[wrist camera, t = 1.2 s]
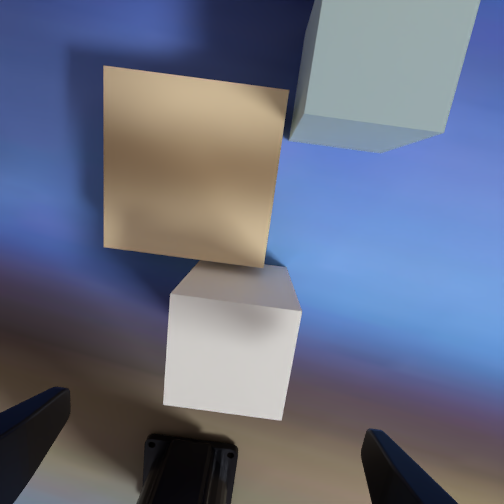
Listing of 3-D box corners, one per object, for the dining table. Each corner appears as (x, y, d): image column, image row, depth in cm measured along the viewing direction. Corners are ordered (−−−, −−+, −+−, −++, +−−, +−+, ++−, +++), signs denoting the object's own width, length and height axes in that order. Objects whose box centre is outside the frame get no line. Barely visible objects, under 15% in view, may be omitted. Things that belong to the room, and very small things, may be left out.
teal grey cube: (380, 153, 14) (443, 132, 9) (288, 141, 14) (304, 113, 9) (404, 48, 13) (491, -39, 8) (304, 34, 13) (332, -61, 8)
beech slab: (262, 254, 16) (263, 268, 13) (132, 237, 16) (103, 247, 13) (283, 111, 14) (289, 90, 11) (136, 91, 14) (103, 65, 11)
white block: (273, 341, 17) (281, 420, 11) (196, 330, 17) (163, 404, 11) (286, 266, 16) (302, 311, 10) (203, 255, 16) (170, 293, 10)
